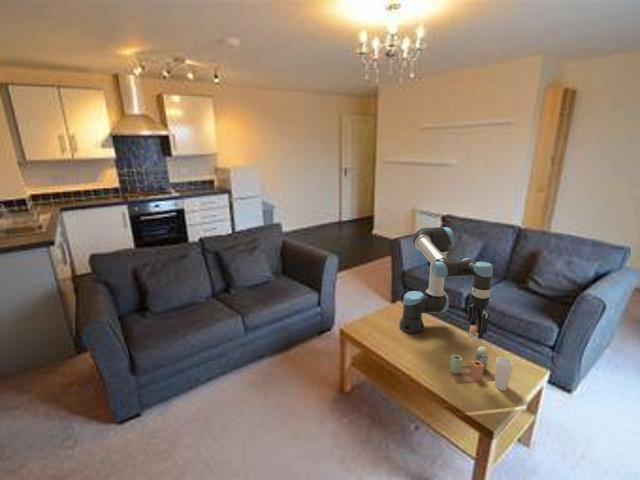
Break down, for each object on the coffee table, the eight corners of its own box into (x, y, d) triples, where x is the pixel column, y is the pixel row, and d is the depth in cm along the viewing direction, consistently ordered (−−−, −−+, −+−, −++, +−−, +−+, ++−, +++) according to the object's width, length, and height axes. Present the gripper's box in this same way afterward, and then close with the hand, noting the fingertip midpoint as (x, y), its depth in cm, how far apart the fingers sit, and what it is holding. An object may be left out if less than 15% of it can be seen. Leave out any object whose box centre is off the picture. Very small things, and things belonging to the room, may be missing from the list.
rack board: (445, 369, 173) (445, 367, 172) (482, 366, 175) (482, 364, 175) (457, 386, 161) (458, 384, 161) (496, 382, 163) (497, 380, 163)
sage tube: (449, 368, 172) (450, 355, 169) (456, 368, 172) (458, 354, 170) (453, 373, 168) (454, 360, 166) (460, 373, 168) (462, 359, 166)
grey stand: (474, 366, 173) (476, 352, 171) (481, 365, 174) (483, 352, 171) (478, 371, 169) (480, 357, 167) (486, 370, 170) (488, 357, 168)
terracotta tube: (469, 375, 167) (471, 361, 164) (477, 374, 167) (479, 360, 165) (474, 380, 163) (476, 366, 161) (481, 379, 163) (483, 365, 161)
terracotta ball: (467, 332, 162) (468, 323, 160) (477, 332, 162) (478, 322, 161) (473, 338, 157) (474, 328, 155) (483, 337, 157) (484, 328, 156)
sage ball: (474, 353, 171) (475, 344, 170) (483, 352, 172) (484, 343, 171) (480, 359, 167) (481, 350, 165) (489, 358, 167) (490, 349, 166)
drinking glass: (489, 383, 162) (493, 357, 158) (503, 382, 163) (507, 356, 159) (497, 394, 156) (502, 366, 152) (511, 392, 156) (516, 365, 152)
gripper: (462, 288, 162) (458, 331, 168) (483, 304, 145) (477, 351, 151) (477, 287, 163) (472, 330, 169) (499, 303, 146) (493, 350, 152)
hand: (475, 340), depth 160 cm, fingers closed on terracotta ball, 5 cm apart
